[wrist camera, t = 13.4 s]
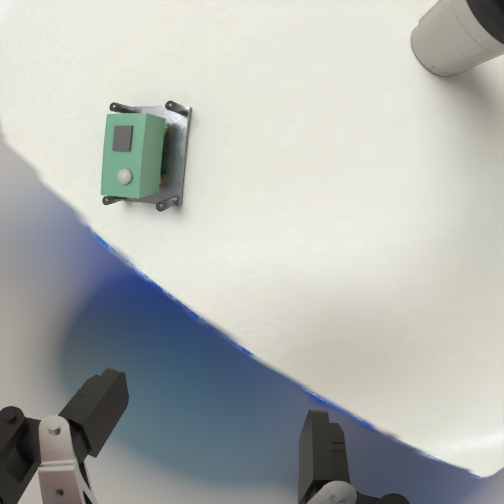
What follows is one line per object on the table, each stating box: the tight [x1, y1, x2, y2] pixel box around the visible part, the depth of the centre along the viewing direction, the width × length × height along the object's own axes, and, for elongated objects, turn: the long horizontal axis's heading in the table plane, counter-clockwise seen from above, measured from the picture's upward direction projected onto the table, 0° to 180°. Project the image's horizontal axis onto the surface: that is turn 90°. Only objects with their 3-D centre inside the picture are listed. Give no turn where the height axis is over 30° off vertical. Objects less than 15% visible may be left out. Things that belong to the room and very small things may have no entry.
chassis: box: [103, 101, 191, 211], centre depth 39 cm, size 14×10×6 cm
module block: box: [101, 113, 166, 199], centre depth 35 cm, size 10×6×7 cm, turn 173°
